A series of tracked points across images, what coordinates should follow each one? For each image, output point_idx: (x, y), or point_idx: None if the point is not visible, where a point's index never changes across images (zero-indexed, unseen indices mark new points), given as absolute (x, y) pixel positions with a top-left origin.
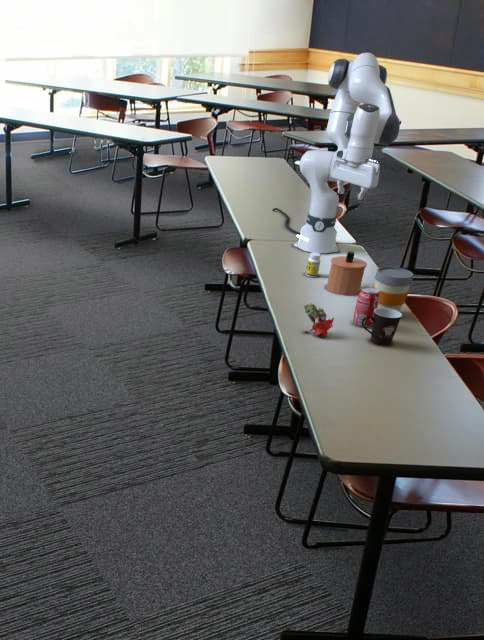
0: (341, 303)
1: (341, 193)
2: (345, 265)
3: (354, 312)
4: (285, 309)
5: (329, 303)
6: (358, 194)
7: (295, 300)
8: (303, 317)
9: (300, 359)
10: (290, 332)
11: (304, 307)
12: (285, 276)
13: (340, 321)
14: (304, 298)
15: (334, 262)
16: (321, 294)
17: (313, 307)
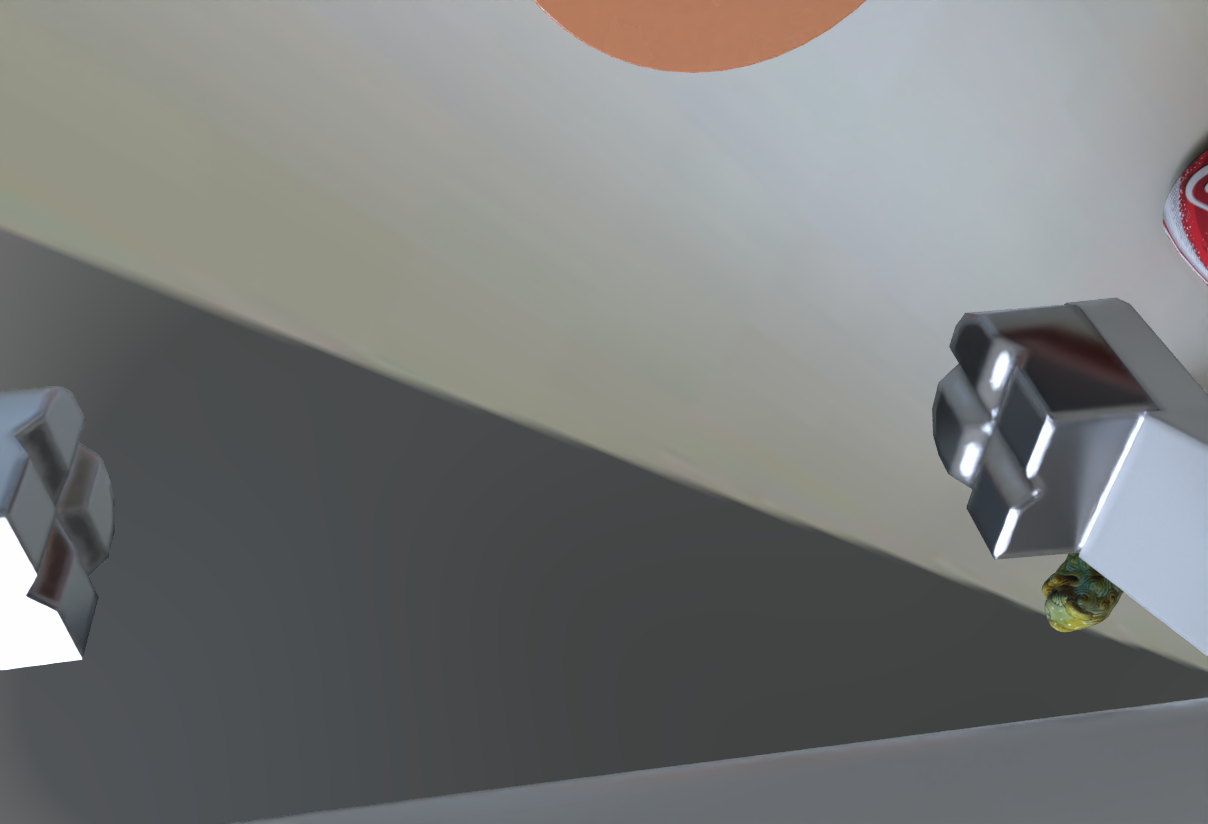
0: (897, 49)
1: (107, 481)
2: (809, 5)
3: (1202, 279)
4: (751, 457)
5: (839, 144)
6: (1047, 543)
7: (662, 332)
8: (899, 431)
9: (1168, 634)
10: (982, 564)
11: (1049, 618)
12: (93, 81)
13: (1089, 281)
14: (661, 255)
15: (660, 59)
16: (654, 70)
17: (1109, 613)
